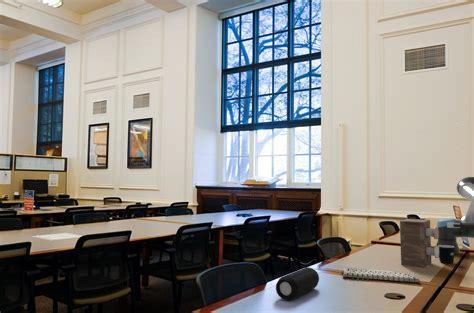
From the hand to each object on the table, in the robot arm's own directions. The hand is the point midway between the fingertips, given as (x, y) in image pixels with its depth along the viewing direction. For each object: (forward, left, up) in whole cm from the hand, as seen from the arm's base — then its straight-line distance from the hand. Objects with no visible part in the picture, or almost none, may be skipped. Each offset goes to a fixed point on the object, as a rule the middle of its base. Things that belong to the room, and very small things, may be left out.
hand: (447, 224), depth 222 cm
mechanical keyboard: (+49, -16, -25) cm, 57 cm away
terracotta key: (+2, -11, -9) cm, 14 cm away
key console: (+3, -17, -24) cm, 30 cm away
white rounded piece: (+2, -11, -20) cm, 23 cm away
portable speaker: (+102, -25, -25) cm, 108 cm away
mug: (-15, -6, -25) cm, 30 cm away
